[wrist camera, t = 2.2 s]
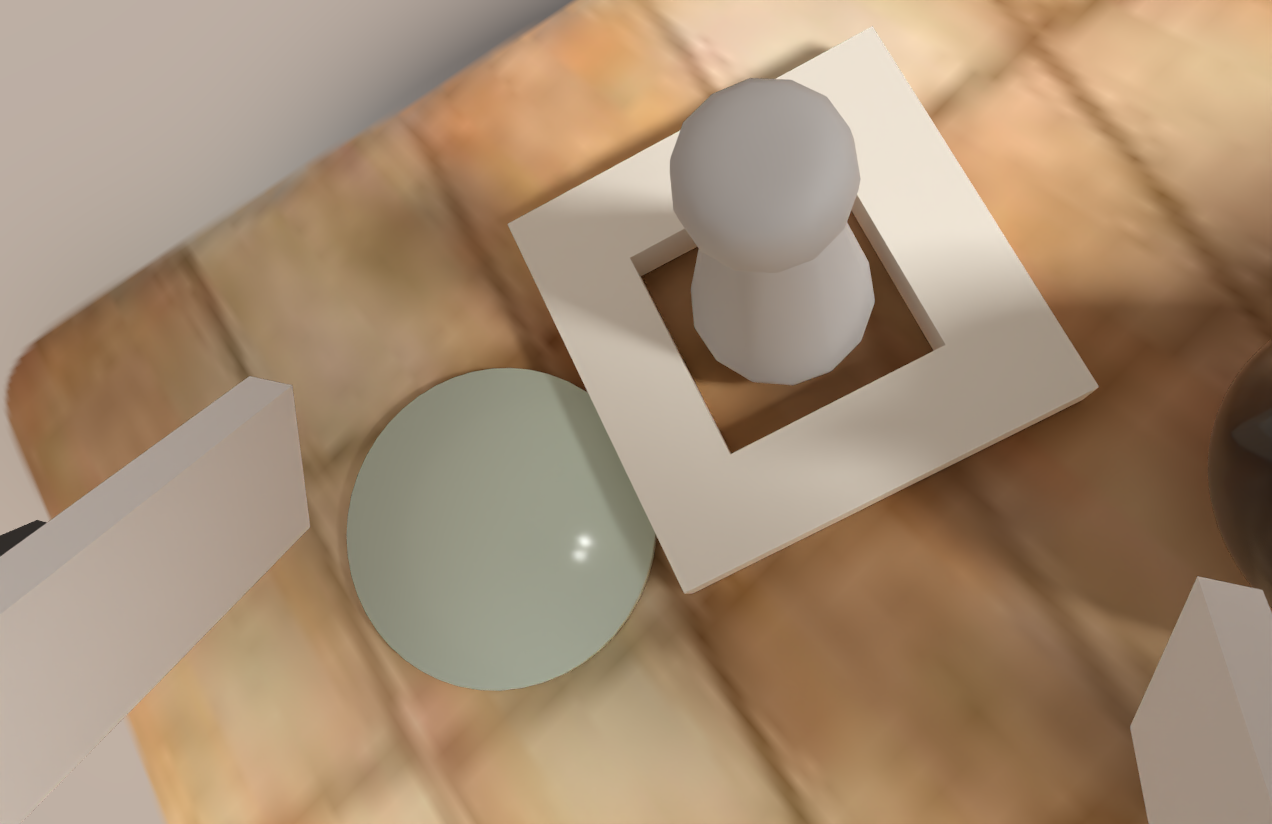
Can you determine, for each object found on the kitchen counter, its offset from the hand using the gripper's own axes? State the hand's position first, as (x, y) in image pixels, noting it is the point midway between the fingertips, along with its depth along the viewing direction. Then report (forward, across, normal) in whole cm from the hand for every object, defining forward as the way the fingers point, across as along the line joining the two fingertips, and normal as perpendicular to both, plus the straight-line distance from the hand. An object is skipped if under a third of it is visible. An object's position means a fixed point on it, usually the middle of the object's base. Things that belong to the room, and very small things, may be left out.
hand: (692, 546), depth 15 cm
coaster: (+14, +9, +12) cm, 21 cm away
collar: (+20, +1, +5) cm, 21 cm away
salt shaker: (+20, +1, +5) cm, 21 cm away
